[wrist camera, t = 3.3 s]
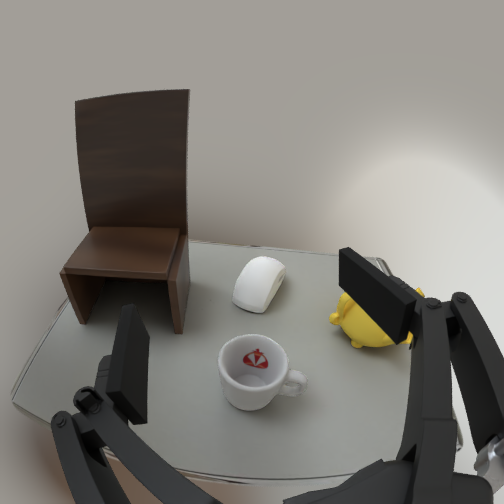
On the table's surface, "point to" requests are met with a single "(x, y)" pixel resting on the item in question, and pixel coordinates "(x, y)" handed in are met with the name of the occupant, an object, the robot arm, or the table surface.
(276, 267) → the computer mouse
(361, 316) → the teapot
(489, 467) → the robot arm
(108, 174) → the wooden chair
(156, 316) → the table surface
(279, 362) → the cup
